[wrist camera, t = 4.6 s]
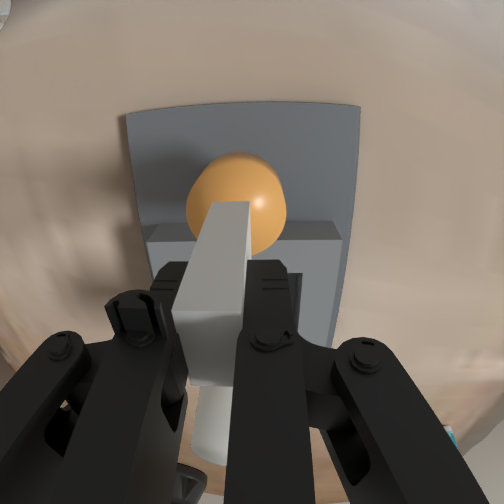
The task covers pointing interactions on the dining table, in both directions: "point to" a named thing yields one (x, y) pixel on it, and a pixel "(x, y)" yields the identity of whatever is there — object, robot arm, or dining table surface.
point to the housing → (291, 177)
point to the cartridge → (212, 424)
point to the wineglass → (4, 11)
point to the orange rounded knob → (240, 195)
